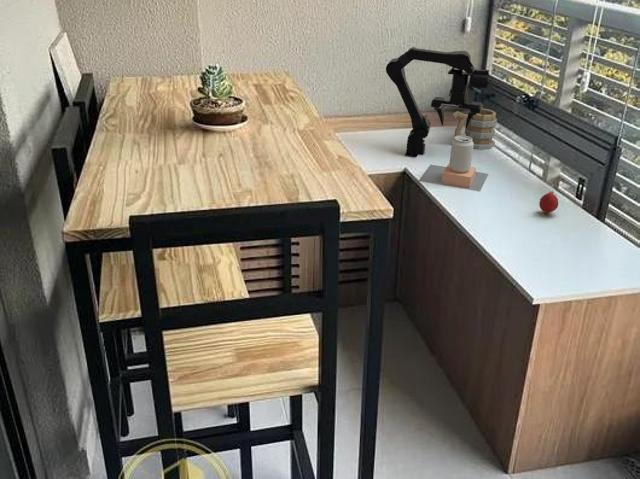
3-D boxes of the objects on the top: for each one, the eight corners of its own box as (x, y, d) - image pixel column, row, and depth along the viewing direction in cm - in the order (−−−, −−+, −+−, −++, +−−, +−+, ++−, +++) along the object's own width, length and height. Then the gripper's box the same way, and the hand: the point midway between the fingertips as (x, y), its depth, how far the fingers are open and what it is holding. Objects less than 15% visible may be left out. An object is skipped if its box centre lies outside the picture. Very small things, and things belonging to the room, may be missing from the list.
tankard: (484, 138, 277) (489, 104, 270) (498, 148, 266) (504, 113, 259) (441, 141, 273) (445, 106, 266) (454, 151, 262) (458, 115, 255)
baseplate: (418, 183, 231) (418, 180, 230) (430, 166, 246) (430, 164, 245) (479, 194, 224) (480, 191, 223) (488, 176, 238) (488, 173, 238)
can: (461, 175, 225) (466, 142, 219) (444, 169, 230) (448, 137, 224) (474, 170, 230) (478, 138, 224) (456, 164, 234) (460, 132, 229)
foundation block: (441, 183, 229) (442, 172, 227) (447, 173, 237) (448, 163, 235) (469, 187, 226) (470, 177, 224) (474, 178, 234) (476, 167, 232)
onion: (546, 218, 207) (551, 195, 204) (533, 211, 212) (538, 189, 208) (559, 215, 210) (564, 192, 206) (546, 208, 214) (551, 186, 210)
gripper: (487, 84, 245) (482, 124, 252) (439, 78, 251) (435, 117, 258) (482, 91, 235) (477, 132, 243) (432, 85, 242) (428, 125, 249)
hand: (454, 126), depth 248 cm, fingers open, 9 cm apart
